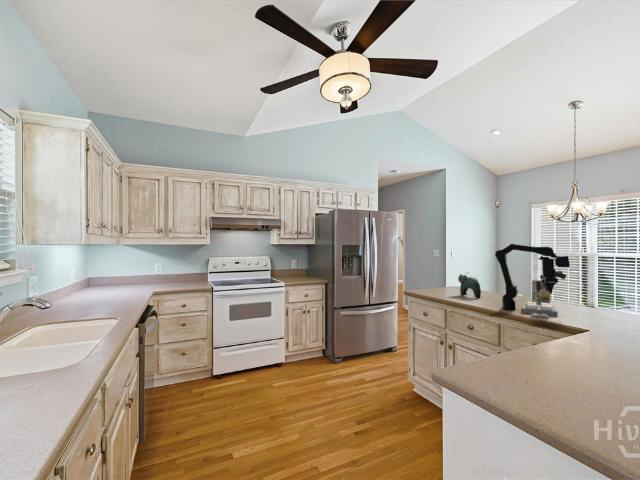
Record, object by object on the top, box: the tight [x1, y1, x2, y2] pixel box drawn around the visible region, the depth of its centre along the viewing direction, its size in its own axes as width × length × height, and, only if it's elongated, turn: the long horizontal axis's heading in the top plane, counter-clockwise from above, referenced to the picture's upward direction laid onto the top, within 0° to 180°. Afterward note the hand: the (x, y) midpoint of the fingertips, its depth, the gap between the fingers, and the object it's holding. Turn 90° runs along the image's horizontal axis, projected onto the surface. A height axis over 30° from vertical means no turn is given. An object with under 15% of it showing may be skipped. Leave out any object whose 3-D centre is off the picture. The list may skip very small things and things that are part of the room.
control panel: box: [521, 303, 558, 318], centre depth 190 cm, size 17×17×3 cm
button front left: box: [526, 303, 538, 309], centre depth 189 cm, size 5×5×2 cm
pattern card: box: [530, 313, 549, 320], centre depth 178 cm, size 8×8×1 cm
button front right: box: [540, 304, 553, 310], centre depth 184 cm, size 5×5×2 cm
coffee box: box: [531, 279, 551, 305], centre depth 216 cm, size 9×6×16 cm
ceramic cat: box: [457, 271, 482, 299], centre depth 245 cm, size 20×6×20 cm, turn 17°
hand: (549, 292), depth 186 cm, fingers open, 9 cm apart
